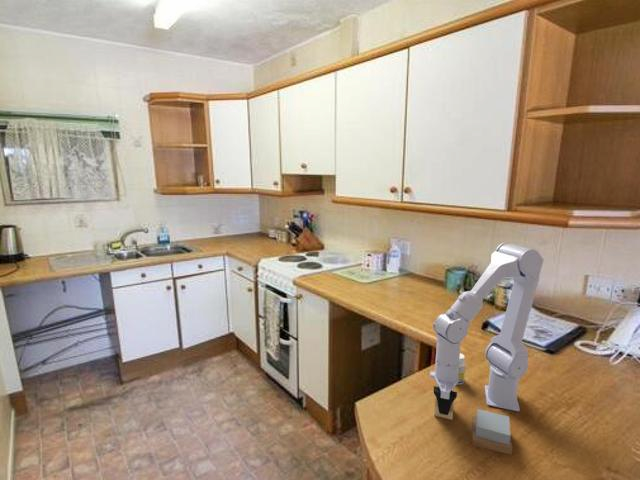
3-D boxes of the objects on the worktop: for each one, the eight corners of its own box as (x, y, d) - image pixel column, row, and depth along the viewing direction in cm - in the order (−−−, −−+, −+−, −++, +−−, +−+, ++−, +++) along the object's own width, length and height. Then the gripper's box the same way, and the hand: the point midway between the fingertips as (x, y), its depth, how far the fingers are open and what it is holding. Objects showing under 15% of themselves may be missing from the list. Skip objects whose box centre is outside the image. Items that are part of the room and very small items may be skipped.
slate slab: (476, 417, 91) (477, 408, 91) (508, 425, 88) (509, 416, 88) (475, 436, 85) (476, 426, 84) (509, 445, 82) (510, 435, 82)
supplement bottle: (450, 374, 114) (452, 349, 113) (466, 379, 111) (468, 354, 110) (445, 381, 111) (447, 355, 109) (461, 387, 108) (463, 361, 106)
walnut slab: (471, 425, 92) (472, 416, 92) (506, 432, 89) (507, 424, 89) (473, 447, 85) (473, 438, 84) (511, 456, 82) (512, 446, 82)
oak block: (435, 405, 99) (436, 388, 98) (452, 409, 98) (453, 392, 97) (434, 415, 95) (435, 398, 94) (452, 419, 93) (453, 402, 92)
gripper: (432, 345, 101) (430, 389, 104) (429, 371, 88) (426, 421, 91) (459, 349, 99) (456, 394, 102) (460, 377, 86) (456, 428, 88)
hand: (443, 407), depth 96 cm, fingers closed on oak block, 4 cm apart
